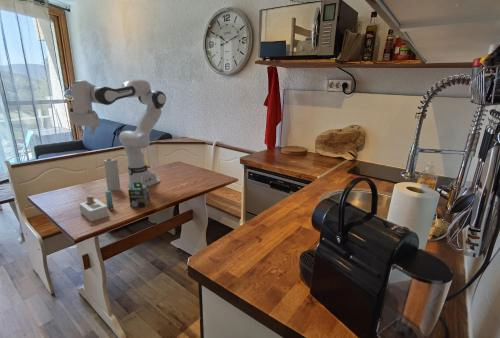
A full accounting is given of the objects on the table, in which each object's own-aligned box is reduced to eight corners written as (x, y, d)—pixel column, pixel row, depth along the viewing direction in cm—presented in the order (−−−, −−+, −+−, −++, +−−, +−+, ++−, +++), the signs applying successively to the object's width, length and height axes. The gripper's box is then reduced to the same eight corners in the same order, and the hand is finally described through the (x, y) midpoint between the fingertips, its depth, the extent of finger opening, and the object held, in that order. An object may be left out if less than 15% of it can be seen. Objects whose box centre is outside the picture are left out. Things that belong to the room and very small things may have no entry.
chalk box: (150, 201, 168) (148, 179, 164) (145, 207, 160) (143, 184, 155) (135, 201, 168) (133, 179, 163) (129, 207, 159) (127, 184, 155)
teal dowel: (111, 205, 160) (109, 190, 157) (114, 207, 159) (112, 191, 156) (106, 207, 158) (104, 191, 155) (108, 208, 156) (106, 193, 153)
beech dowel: (93, 211, 153) (91, 195, 150) (96, 212, 151) (93, 196, 148) (88, 212, 151) (85, 196, 148) (90, 214, 149) (87, 198, 146)
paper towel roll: (105, 189, 183) (101, 160, 177) (113, 187, 188) (110, 158, 182) (112, 192, 180) (108, 161, 174) (120, 189, 185) (117, 159, 179)
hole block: (97, 208, 157) (96, 198, 155) (108, 215, 148) (107, 205, 147) (80, 213, 150) (79, 203, 148) (91, 221, 142) (89, 211, 140)
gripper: (101, 110, 152) (104, 134, 156) (77, 108, 159) (80, 131, 163) (91, 111, 146) (94, 136, 150) (66, 108, 154) (70, 132, 158)
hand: (87, 133), depth 157 cm, fingers open, 8 cm apart
